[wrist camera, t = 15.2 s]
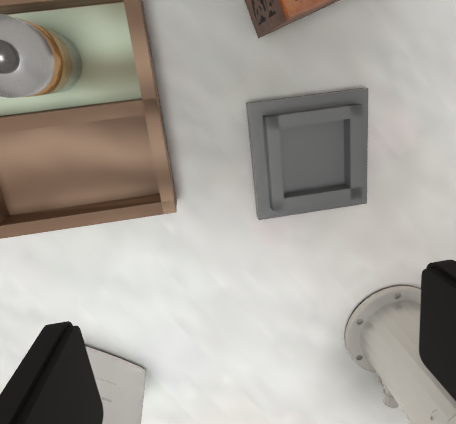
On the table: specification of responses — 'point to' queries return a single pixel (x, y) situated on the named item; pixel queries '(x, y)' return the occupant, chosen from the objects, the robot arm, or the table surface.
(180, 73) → the table surface
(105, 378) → the photo printer
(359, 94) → the tester cradle
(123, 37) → the wooden divided tray
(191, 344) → the table surface
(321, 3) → the tissue box cover
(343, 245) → the table surface
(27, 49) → the cell
